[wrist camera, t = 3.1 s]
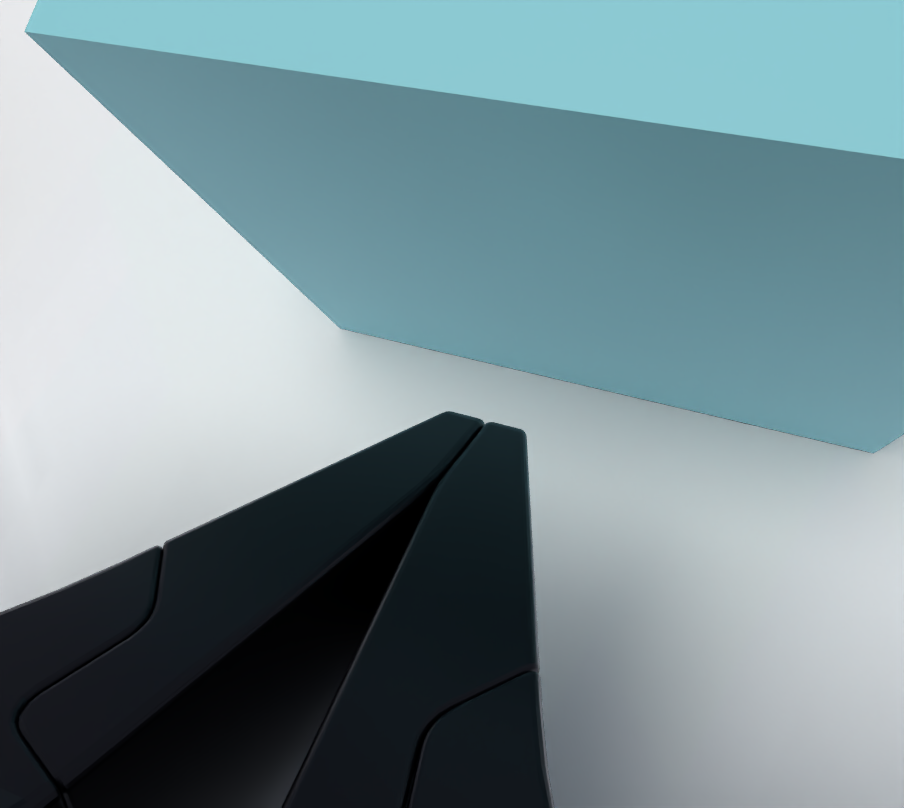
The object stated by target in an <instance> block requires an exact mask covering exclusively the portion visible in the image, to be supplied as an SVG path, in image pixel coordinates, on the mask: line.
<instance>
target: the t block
mask: <svg viewBox="0 0 904 808" xmlns="http://www.w3.org/2000/svg"><path fill="white" fill-rule="evenodd" d="M25 32H26V33H27V34H28V35H29V36H30V37H31V38H32V39H33V40H34V41H35V42H36V43H37V44H38V45H39V46H40V47H42V48H43V49H44V50H45V51H46V52H47V53H48V54H49V55H50V56H51V57H52V58H53V59H54V60H55V61H56V62H57V63H59V64H60V65H61V66H62V67H63V68H64V69H65V70H66V71H67V72H68V73H69V74H70V75H71V76H72V77H73V78H74V79H76V80H77V81H78V82H79V83H80V84H81V85H82V86H83V87H84V88H85V89H86V90H87V91H88V92H89V93H90V94H91V95H93V96H94V97H95V98H96V99H97V100H98V101H99V102H100V103H101V104H102V105H103V106H104V107H105V108H106V109H107V110H108V111H110V112H111V113H112V114H113V115H114V116H115V117H116V118H117V119H118V120H119V121H120V122H121V123H122V124H123V125H124V126H125V127H127V128H128V129H129V130H130V131H131V132H132V133H133V134H134V135H135V136H136V137H137V138H138V139H139V140H140V141H141V142H142V143H144V144H145V145H146V146H147V147H148V148H149V149H150V150H151V151H152V152H153V153H154V154H155V155H156V156H157V157H158V158H159V159H161V160H162V161H163V162H164V163H165V164H166V165H167V166H168V167H169V168H170V169H171V170H172V171H173V172H174V173H175V174H177V175H178V176H179V177H180V178H181V179H182V180H183V181H184V182H185V183H186V184H187V185H188V186H189V187H190V188H191V189H192V190H194V191H195V192H196V193H197V194H198V195H199V196H200V197H201V198H202V199H203V200H204V201H205V202H206V203H207V204H208V205H209V206H211V207H212V208H213V209H214V210H215V211H216V212H217V213H218V214H219V215H220V216H221V217H222V218H223V219H224V220H225V221H226V222H228V223H229V224H230V225H231V226H232V227H233V228H234V229H235V230H236V231H237V232H238V233H239V234H240V235H241V236H242V237H243V238H245V239H246V240H247V241H248V242H249V243H250V244H251V245H252V246H253V247H254V248H255V249H256V250H257V251H258V252H259V253H260V254H262V255H263V256H264V257H265V258H266V259H267V260H268V261H269V262H270V263H271V264H272V265H273V266H274V267H275V268H276V269H277V270H279V271H280V272H281V273H282V274H283V275H284V276H285V277H286V278H287V279H288V280H289V281H290V282H291V283H292V284H293V285H294V286H296V287H297V288H298V289H299V290H300V291H301V292H302V293H303V294H304V295H305V296H306V297H307V298H308V299H309V300H310V301H311V302H313V303H314V304H315V305H316V306H317V307H318V308H319V309H320V310H321V311H322V312H323V313H324V314H325V315H326V316H327V317H328V318H330V319H331V320H332V321H333V322H334V323H335V324H336V325H337V326H338V327H339V328H341V329H345V330H350V331H354V332H358V333H362V334H367V335H371V336H375V337H379V338H384V339H388V340H392V341H397V342H401V343H405V344H409V345H414V346H418V347H422V348H426V349H431V350H435V351H439V352H444V353H448V354H452V355H456V356H461V357H465V358H469V359H473V360H478V361H482V362H486V363H490V364H495V365H499V366H503V367H508V368H512V369H516V370H520V371H525V372H529V373H533V374H537V375H542V376H546V377H550V378H555V379H559V380H563V381H567V382H572V383H576V384H580V385H584V386H589V387H593V388H597V389H601V390H606V391H610V392H614V393H619V394H623V395H627V396H631V397H636V398H640V399H644V400H648V401H653V402H657V403H661V404H666V405H670V406H674V407H678V408H683V409H687V410H691V411H695V412H700V413H704V414H708V415H712V416H717V417H721V418H725V419H730V420H734V421H738V422H742V423H747V424H751V425H755V426H759V427H764V428H768V429H772V430H777V431H781V432H785V433H789V434H794V435H798V436H802V437H806V438H811V439H815V440H819V441H823V442H828V443H832V444H836V445H841V446H845V447H849V448H853V449H858V450H862V451H866V452H870V453H875V452H876V451H878V450H880V449H881V448H883V447H884V446H886V445H887V444H889V443H891V442H892V441H894V440H895V439H897V438H899V437H900V436H902V435H903V434H904V0H38V1H37V3H36V6H35V8H34V10H33V13H32V15H31V17H30V20H29V22H28V25H27V27H26V29H25Z"/></svg>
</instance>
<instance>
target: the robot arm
mask: <svg viewBox="0 0 904 808" xmlns="http://www.w3.org/2000/svg"><path fill="white" fill-rule="evenodd" d="M539 669H540V668H539V650H538V632H537V615H536V597H535V579H534V561H533V544H532V526H531V508H530V490H529V473H528V455H527V438H526V434H525V432H524V431H523V430H521V429H518V428H514V427H510V426H506V425H502V424H498V423H494V422H489V423H486V424H484V422H483V421H482V420H481V419H478V418H474V417H471V416H467V415H463V414H459V413H455V412H450V411H448V412H444V413H441V414H439V415H437V416H435V417H432V418H430V419H428V420H426V421H424V422H422V423H420V424H417V425H415V426H413V427H411V428H409V429H407V430H405V431H402V432H400V433H398V434H396V435H394V436H392V437H389V438H387V439H385V440H383V441H381V442H379V443H377V444H374V445H372V446H370V447H368V448H366V449H364V450H361V451H359V452H357V453H355V454H353V455H351V456H349V457H346V458H344V459H342V460H340V461H338V462H336V463H334V464H331V465H329V466H327V467H325V468H323V469H321V470H318V471H316V472H314V473H312V474H310V475H308V476H306V477H303V478H301V479H299V480H297V481H295V482H293V483H290V484H288V485H286V486H284V487H282V488H280V489H278V490H275V491H273V492H271V493H269V494H267V495H265V496H263V497H260V498H258V499H256V500H254V501H252V502H250V503H247V504H245V505H243V506H241V507H239V508H237V509H235V510H232V511H230V512H228V513H226V514H224V515H222V516H219V517H217V518H215V519H213V520H211V521H209V522H207V523H204V524H202V525H200V526H198V527H196V528H194V529H192V530H189V531H187V532H185V533H183V534H181V535H179V536H176V537H174V538H172V539H170V540H168V541H166V542H165V543H164V546H163V549H162V547H160V546H154V547H152V548H150V549H148V550H146V551H144V552H141V553H139V554H137V555H135V556H133V557H131V558H128V559H126V560H124V561H122V562H120V563H118V564H115V565H113V566H111V567H108V568H106V569H104V570H102V571H99V572H97V573H95V574H93V575H90V576H88V577H86V578H83V579H81V580H79V581H77V582H74V583H72V584H70V585H68V586H65V587H63V588H61V589H58V590H56V591H53V592H51V593H48V594H46V595H43V596H41V597H38V598H36V599H33V600H30V601H28V602H25V603H23V604H20V605H18V606H15V607H13V608H10V609H8V610H5V611H3V612H0V808H554V803H553V797H552V791H551V785H550V779H549V773H548V765H547V755H546V745H545V735H544V725H543V714H542V696H541V679H540V675H539Z"/></svg>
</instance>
